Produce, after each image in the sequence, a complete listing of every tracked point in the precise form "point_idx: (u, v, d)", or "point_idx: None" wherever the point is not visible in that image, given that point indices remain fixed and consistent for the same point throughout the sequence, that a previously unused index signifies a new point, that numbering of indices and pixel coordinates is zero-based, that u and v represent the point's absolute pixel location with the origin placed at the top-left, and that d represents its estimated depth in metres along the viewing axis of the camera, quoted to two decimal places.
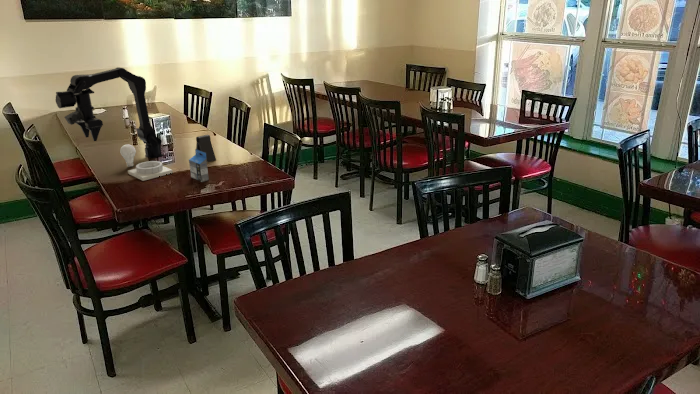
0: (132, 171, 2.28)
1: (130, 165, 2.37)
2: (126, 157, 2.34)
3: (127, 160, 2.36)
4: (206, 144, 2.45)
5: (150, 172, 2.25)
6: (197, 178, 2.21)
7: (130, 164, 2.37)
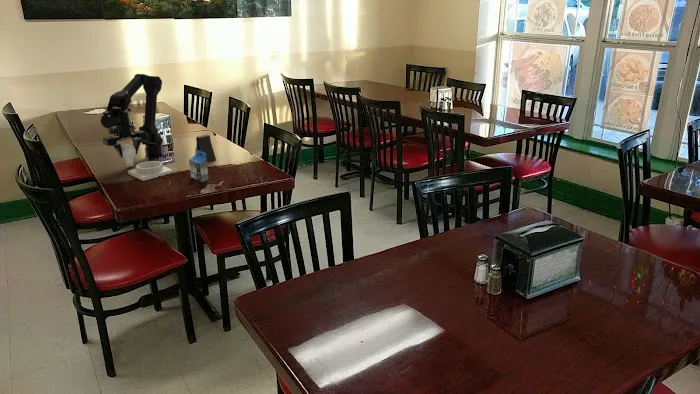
0: (132, 171, 2.28)
1: (130, 165, 2.37)
2: (126, 157, 2.34)
3: (127, 160, 2.36)
4: (206, 144, 2.45)
5: (150, 172, 2.25)
6: (197, 178, 2.21)
7: (130, 164, 2.37)
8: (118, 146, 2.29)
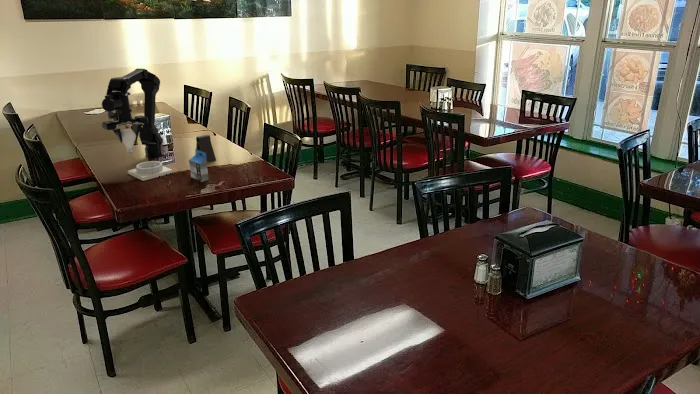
0: (132, 171, 2.28)
1: (130, 150, 2.33)
2: (126, 142, 2.30)
3: (127, 145, 2.32)
4: (206, 144, 2.45)
5: (150, 172, 2.25)
6: (197, 178, 2.21)
7: (130, 149, 2.33)
8: (118, 130, 2.25)
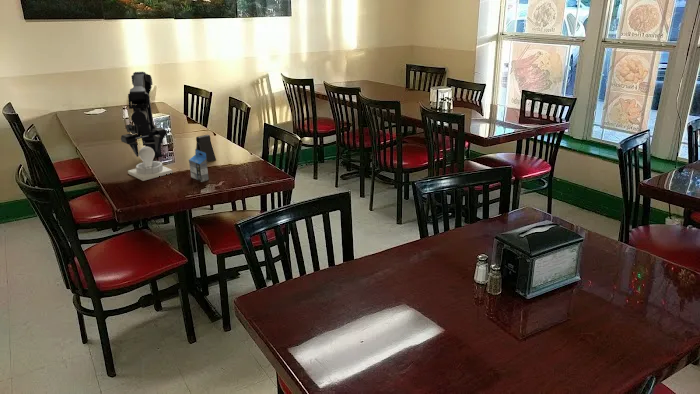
0: (132, 171, 2.28)
1: None
2: (145, 160, 2.25)
3: (146, 163, 2.27)
4: (206, 144, 2.45)
5: (150, 172, 2.25)
6: (197, 178, 2.21)
7: (149, 167, 2.28)
8: (134, 144, 2.19)
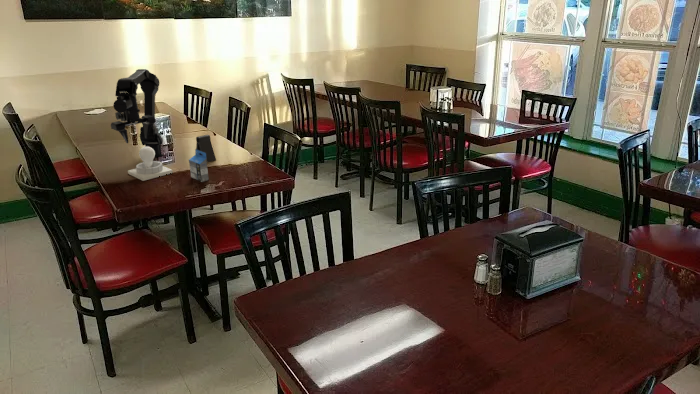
0: (132, 171, 2.28)
1: None
2: (145, 160, 2.25)
3: (146, 163, 2.27)
4: (206, 144, 2.45)
5: (150, 172, 2.25)
6: (197, 178, 2.21)
7: (149, 167, 2.28)
8: (124, 131, 2.26)
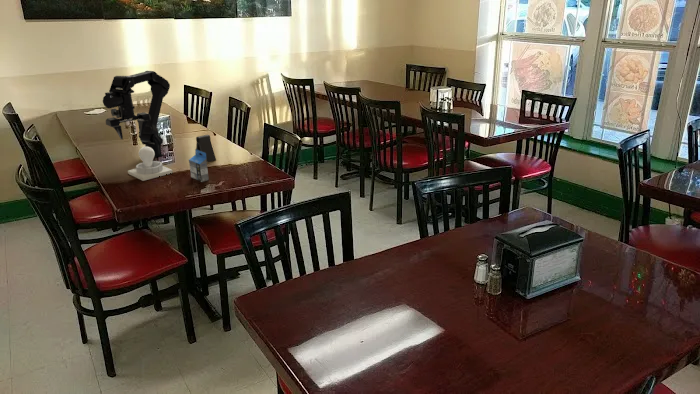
0: (132, 171, 2.28)
1: None
2: (145, 160, 2.25)
3: (146, 163, 2.27)
4: (206, 144, 2.45)
5: (150, 172, 2.25)
6: (197, 178, 2.21)
7: (149, 167, 2.28)
8: (118, 127, 2.30)
